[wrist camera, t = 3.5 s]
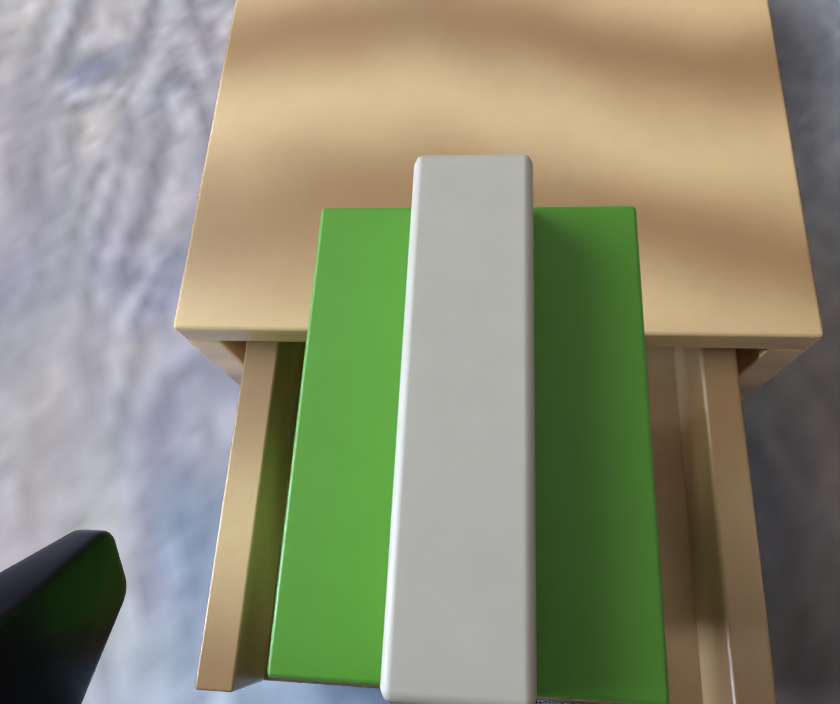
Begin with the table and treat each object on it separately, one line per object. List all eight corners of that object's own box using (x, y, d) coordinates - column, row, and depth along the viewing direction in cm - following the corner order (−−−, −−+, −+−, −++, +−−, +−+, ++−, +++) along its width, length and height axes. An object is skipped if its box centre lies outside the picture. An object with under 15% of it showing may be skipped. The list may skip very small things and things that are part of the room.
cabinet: (736, 406, 18) (826, 336, 13) (248, 394, 19) (171, 328, 15) (687, -26, 23) (738, -186, 19) (307, -10, 25) (264, -154, 20)
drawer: (801, 1118, 12) (905, 1289, 9) (167, 1034, 14) (74, 1160, 11) (706, 232, 19) (749, 161, 16) (280, 233, 20) (242, 168, 17)
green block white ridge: (559, 640, 15) (708, 728, 5) (396, 630, 15) (224, 693, 5) (555, 418, 16) (658, 146, 6) (409, 414, 17) (297, 153, 7)
